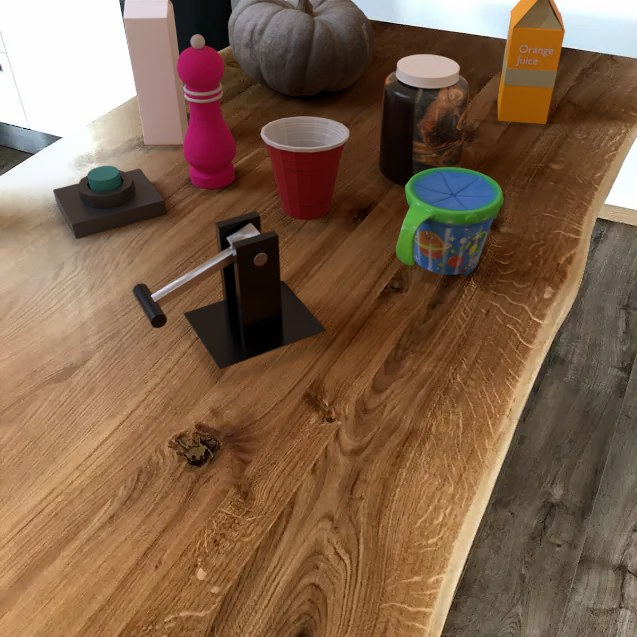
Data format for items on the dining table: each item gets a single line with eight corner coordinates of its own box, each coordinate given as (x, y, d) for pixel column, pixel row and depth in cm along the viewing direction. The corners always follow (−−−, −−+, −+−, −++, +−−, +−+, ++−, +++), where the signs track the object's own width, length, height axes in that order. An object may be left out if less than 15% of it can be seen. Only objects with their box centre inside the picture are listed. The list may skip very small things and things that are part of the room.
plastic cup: (355, 198, 99) (357, 114, 91) (338, 241, 91) (340, 153, 83) (277, 189, 101) (274, 106, 93) (255, 231, 93) (248, 143, 85)
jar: (365, 178, 103) (369, 73, 94) (395, 144, 111) (401, 44, 102) (445, 196, 99) (458, 88, 90) (470, 159, 107) (484, 57, 98)
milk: (151, 129, 116) (126, -20, 102) (189, 128, 116) (170, -20, 102) (144, 146, 111) (118, -7, 97) (184, 145, 111) (163, -8, 98)
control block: (75, 239, 91) (68, 211, 89) (56, 203, 98) (49, 177, 96) (167, 214, 96) (162, 187, 93) (142, 182, 103) (137, 156, 100)
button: (95, 195, 93) (92, 183, 92) (86, 182, 95) (83, 170, 94) (125, 187, 94) (123, 175, 93) (116, 174, 97) (114, 163, 96)
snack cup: (460, 223, 94) (470, 151, 87) (523, 261, 87) (539, 186, 81) (365, 265, 87) (369, 189, 80) (426, 310, 80) (434, 231, 74)
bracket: (221, 378, 72) (207, 273, 64) (184, 322, 79) (168, 220, 71) (326, 339, 77) (326, 236, 68) (283, 289, 83) (279, 190, 75)
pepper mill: (225, 195, 100) (210, 47, 87) (178, 186, 102) (156, 41, 89) (246, 170, 105) (235, 28, 92) (201, 163, 107) (184, 22, 94)
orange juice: (543, 102, 123) (568, -25, 110) (546, 124, 116) (574, -8, 104) (496, 99, 124) (515, -28, 111) (496, 120, 117) (517, -11, 105)
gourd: (195, 69, 128) (204, -37, 118) (291, 55, 145) (306, -39, 135) (298, 124, 117) (319, 12, 106) (389, 102, 133) (414, 3, 123)
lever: (157, 334, 68) (145, 317, 66) (138, 302, 72) (127, 286, 70) (276, 259, 70) (268, 241, 68) (251, 232, 74) (243, 214, 72)
